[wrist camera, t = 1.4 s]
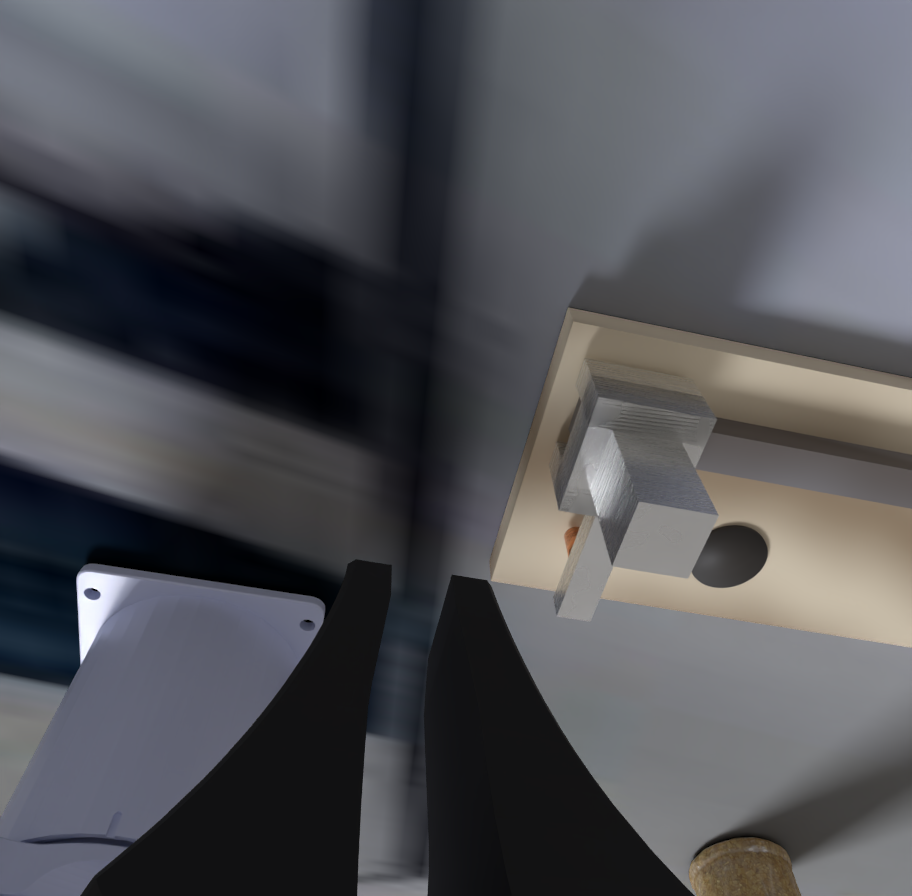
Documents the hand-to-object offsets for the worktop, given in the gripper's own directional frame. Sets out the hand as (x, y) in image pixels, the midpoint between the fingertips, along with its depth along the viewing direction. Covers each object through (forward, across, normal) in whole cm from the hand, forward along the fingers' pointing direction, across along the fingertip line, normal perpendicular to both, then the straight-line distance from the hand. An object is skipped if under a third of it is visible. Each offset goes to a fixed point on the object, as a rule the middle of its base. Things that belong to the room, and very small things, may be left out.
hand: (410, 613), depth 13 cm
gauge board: (+10, -14, +2) cm, 17 cm away
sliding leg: (+9, -5, +2) cm, 10 cm away
